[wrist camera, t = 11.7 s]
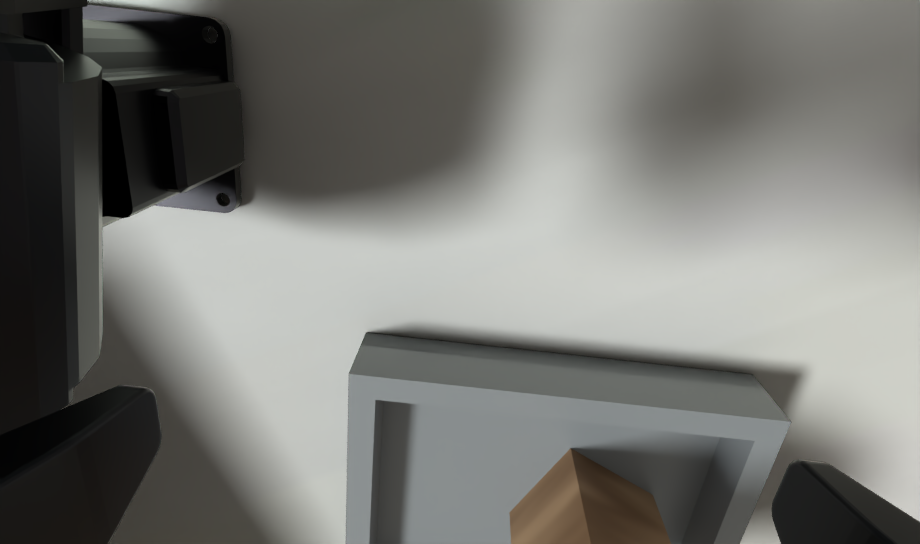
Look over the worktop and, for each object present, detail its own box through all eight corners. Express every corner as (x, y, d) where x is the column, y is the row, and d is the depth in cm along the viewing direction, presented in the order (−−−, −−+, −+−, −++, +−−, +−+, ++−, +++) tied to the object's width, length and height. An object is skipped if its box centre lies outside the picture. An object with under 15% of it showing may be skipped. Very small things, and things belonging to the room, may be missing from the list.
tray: (358, 569, 27) (344, 627, 25) (366, 332, 22) (348, 373, 19) (667, 602, 27) (687, 665, 24) (752, 374, 22) (791, 421, 19)
